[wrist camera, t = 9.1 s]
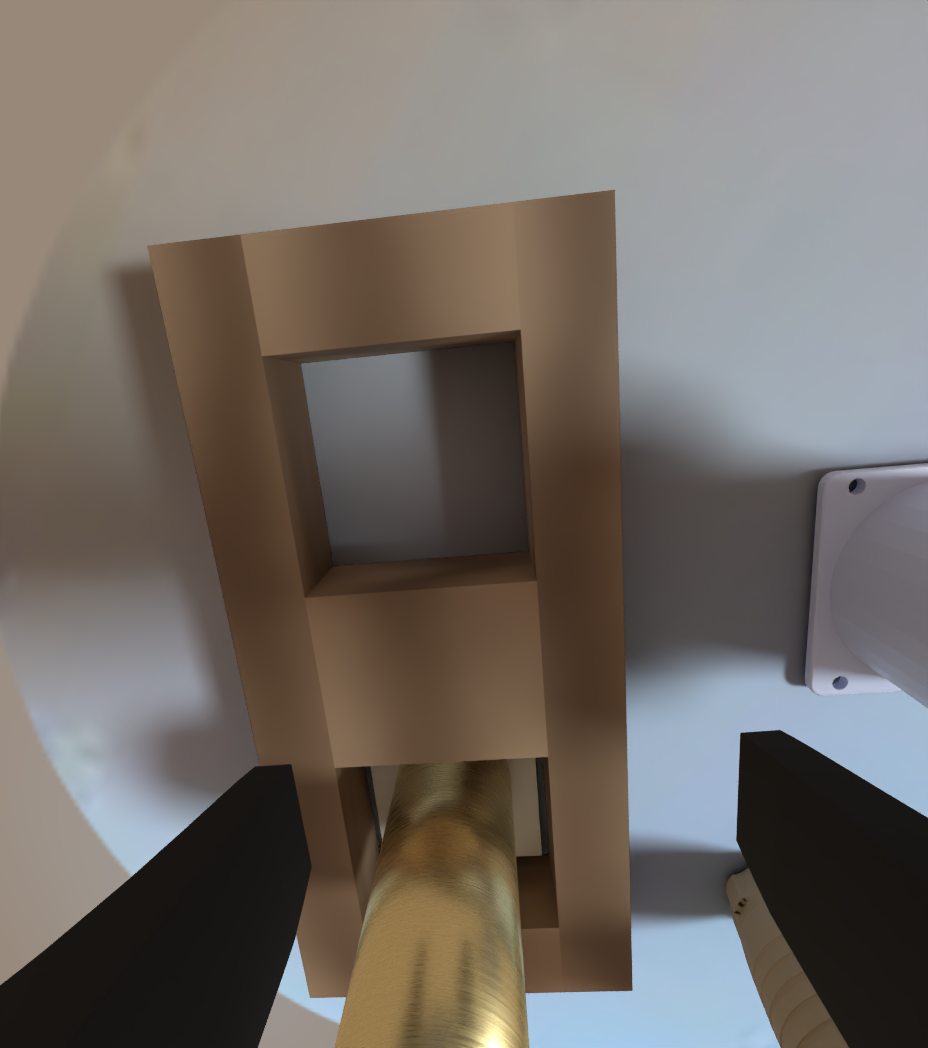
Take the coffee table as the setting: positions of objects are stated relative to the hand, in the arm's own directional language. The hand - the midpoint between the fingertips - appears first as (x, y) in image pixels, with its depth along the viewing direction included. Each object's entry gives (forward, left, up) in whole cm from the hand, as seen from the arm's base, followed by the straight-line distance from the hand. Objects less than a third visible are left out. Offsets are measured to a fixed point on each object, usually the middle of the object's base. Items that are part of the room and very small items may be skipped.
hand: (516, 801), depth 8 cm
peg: (+2, +8, -10) cm, 13 cm away
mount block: (+2, +2, -10) cm, 11 cm away
